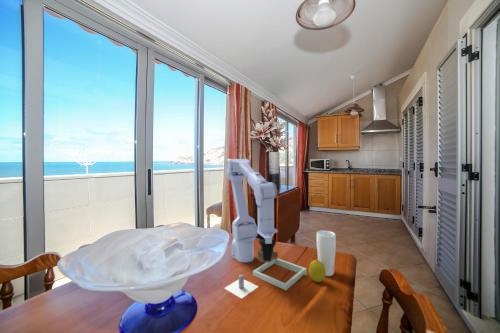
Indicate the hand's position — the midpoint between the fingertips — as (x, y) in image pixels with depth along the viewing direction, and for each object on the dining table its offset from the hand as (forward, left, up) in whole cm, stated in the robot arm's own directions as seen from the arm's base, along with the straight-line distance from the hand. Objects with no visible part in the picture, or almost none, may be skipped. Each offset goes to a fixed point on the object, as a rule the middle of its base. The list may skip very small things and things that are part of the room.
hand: (266, 256), depth 73 cm
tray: (+2, +5, -9) cm, 11 cm away
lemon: (+14, +10, -9) cm, 20 cm away
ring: (0, 0, -1) cm, 1 cm away
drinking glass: (+14, +18, -9) cm, 25 cm away
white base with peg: (-3, -10, -9) cm, 13 cm away
